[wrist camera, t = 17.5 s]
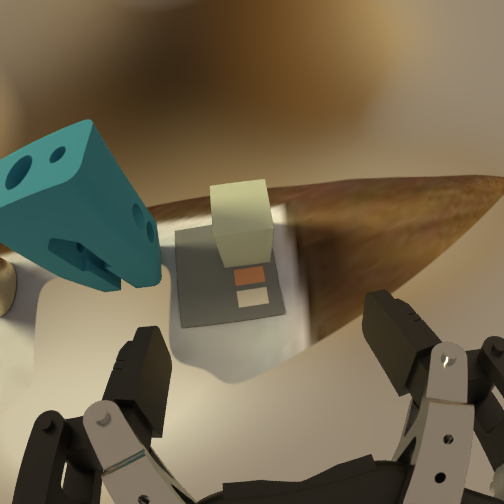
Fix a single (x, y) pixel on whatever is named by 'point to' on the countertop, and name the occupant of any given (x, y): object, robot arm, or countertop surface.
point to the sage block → (242, 222)
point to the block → (77, 212)
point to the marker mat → (221, 283)
